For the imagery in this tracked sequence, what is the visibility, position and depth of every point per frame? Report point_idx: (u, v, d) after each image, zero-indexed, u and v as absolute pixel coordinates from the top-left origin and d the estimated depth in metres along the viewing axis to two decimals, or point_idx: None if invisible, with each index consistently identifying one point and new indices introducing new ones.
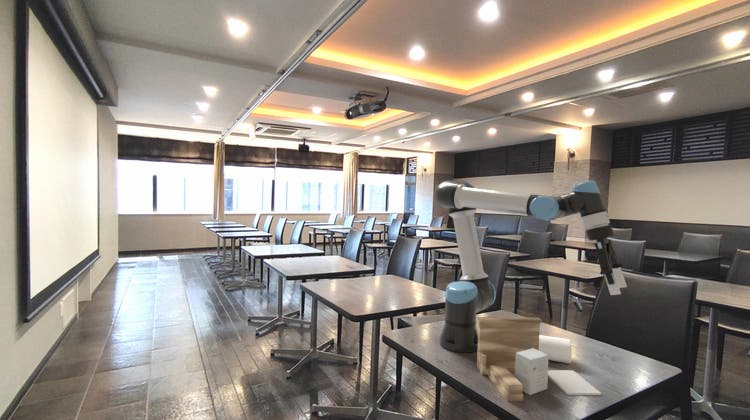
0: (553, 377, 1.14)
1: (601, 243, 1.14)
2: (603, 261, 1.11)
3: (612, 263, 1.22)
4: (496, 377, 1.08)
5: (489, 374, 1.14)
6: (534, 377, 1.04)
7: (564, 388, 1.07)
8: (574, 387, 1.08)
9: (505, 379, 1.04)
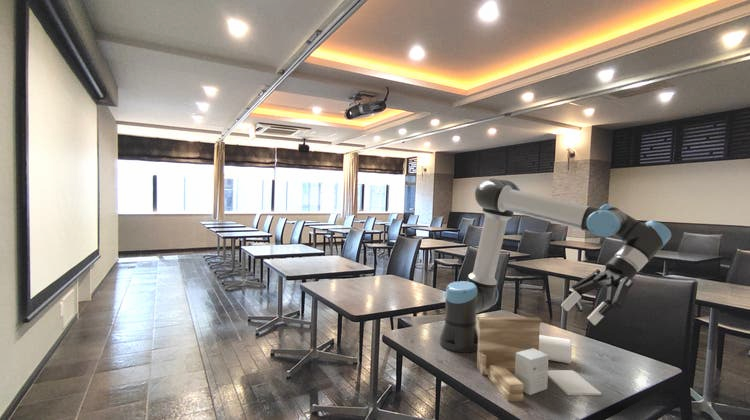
0: (553, 377, 1.14)
1: (631, 282, 1.02)
2: (622, 296, 1.00)
3: (582, 289, 1.14)
4: (496, 377, 1.08)
5: (489, 374, 1.13)
6: (534, 377, 1.04)
7: (564, 388, 1.07)
8: (574, 387, 1.08)
9: (506, 379, 1.04)
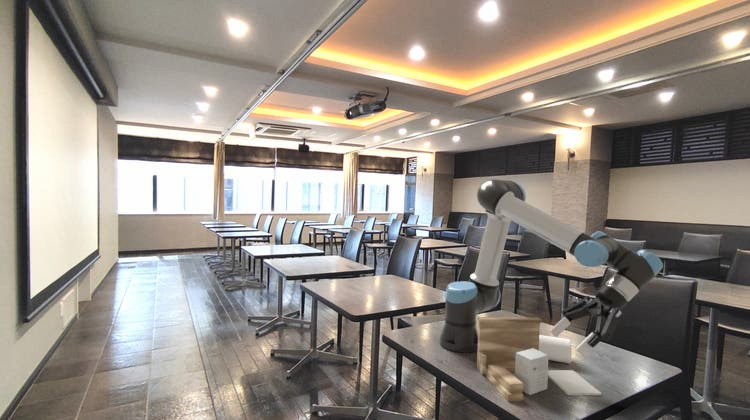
0: (553, 377, 1.14)
1: (621, 314, 1.01)
2: (611, 328, 0.99)
3: (572, 316, 1.14)
4: (495, 376, 1.09)
5: (487, 374, 1.13)
6: (534, 377, 1.04)
7: (564, 388, 1.07)
8: (574, 387, 1.08)
9: (505, 378, 1.04)
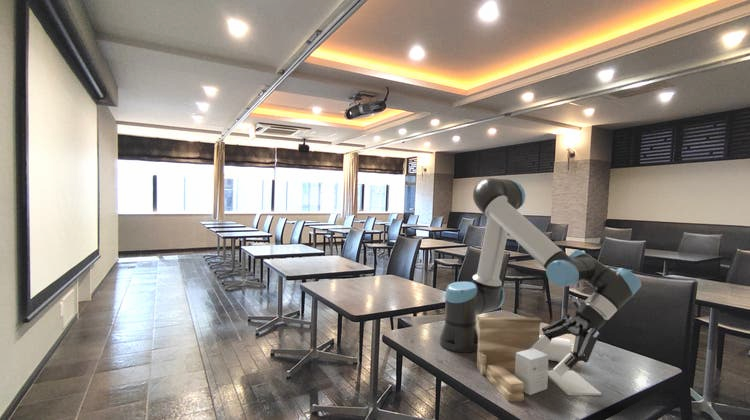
0: (553, 377, 1.14)
1: (599, 334, 1.00)
2: (588, 349, 0.98)
3: (552, 334, 1.13)
4: (495, 377, 1.08)
5: (487, 374, 1.13)
6: (534, 377, 1.04)
7: (564, 388, 1.07)
8: (574, 387, 1.08)
9: (506, 378, 1.04)
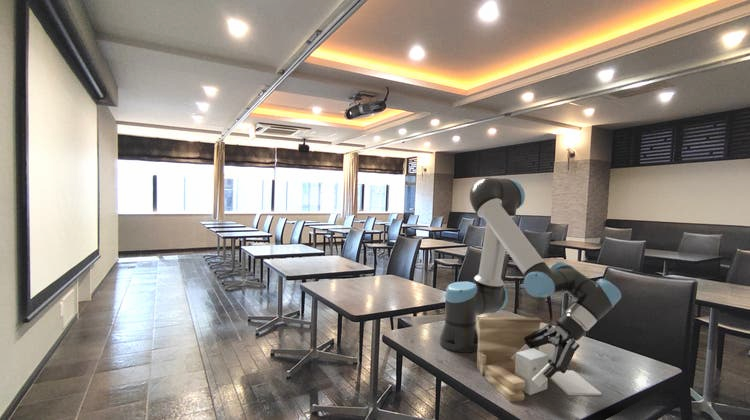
0: (553, 377, 1.14)
1: (577, 345, 1.01)
2: (566, 360, 0.99)
3: (533, 343, 1.14)
4: (495, 377, 1.08)
5: (486, 375, 1.13)
6: None
7: (564, 388, 1.07)
8: (574, 387, 1.08)
9: (507, 378, 1.05)
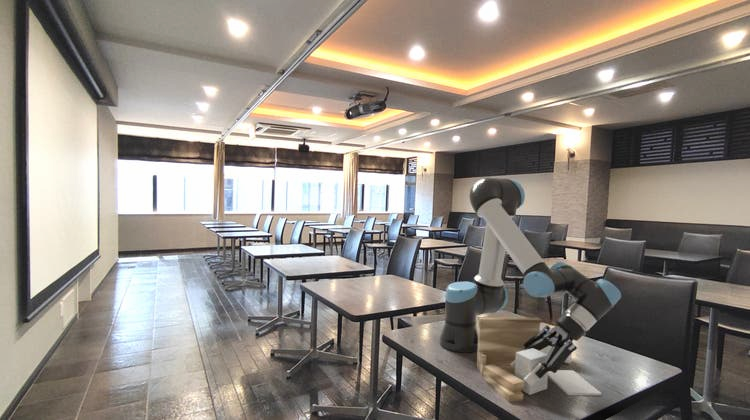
0: (553, 377, 1.14)
1: (574, 348, 1.01)
2: (559, 361, 1.01)
3: (534, 348, 1.12)
4: (493, 377, 1.08)
5: (484, 375, 1.13)
6: None
7: (564, 388, 1.07)
8: (574, 387, 1.08)
9: (506, 378, 1.04)
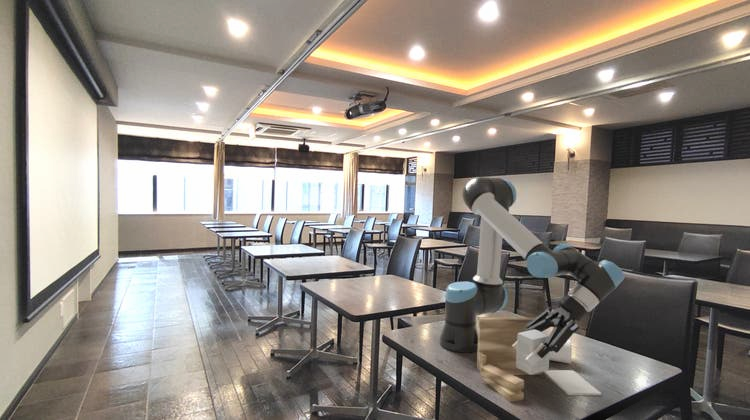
0: (553, 377, 1.14)
1: (577, 328, 1.01)
2: (561, 341, 1.00)
3: (535, 329, 1.11)
4: (492, 378, 1.08)
5: None
6: None
7: (564, 388, 1.07)
8: (574, 387, 1.08)
9: (507, 378, 1.04)
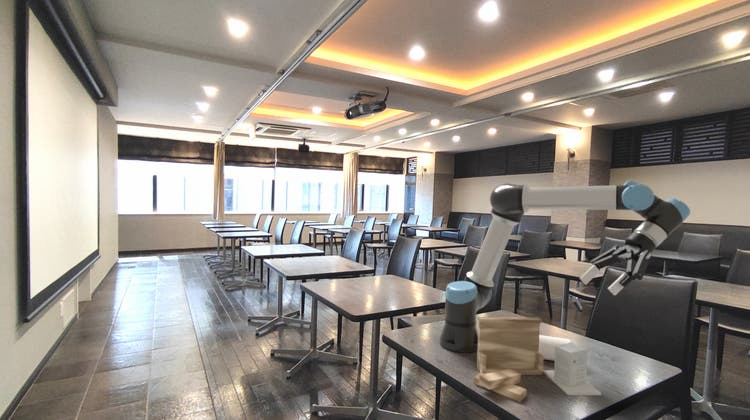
0: (553, 377, 1.14)
1: (651, 256, 1.07)
2: (642, 268, 1.04)
3: (601, 263, 1.19)
4: (500, 384, 1.04)
5: (476, 381, 1.09)
6: (574, 369, 1.08)
7: (564, 388, 1.07)
8: (574, 387, 1.08)
9: (511, 375, 1.06)
